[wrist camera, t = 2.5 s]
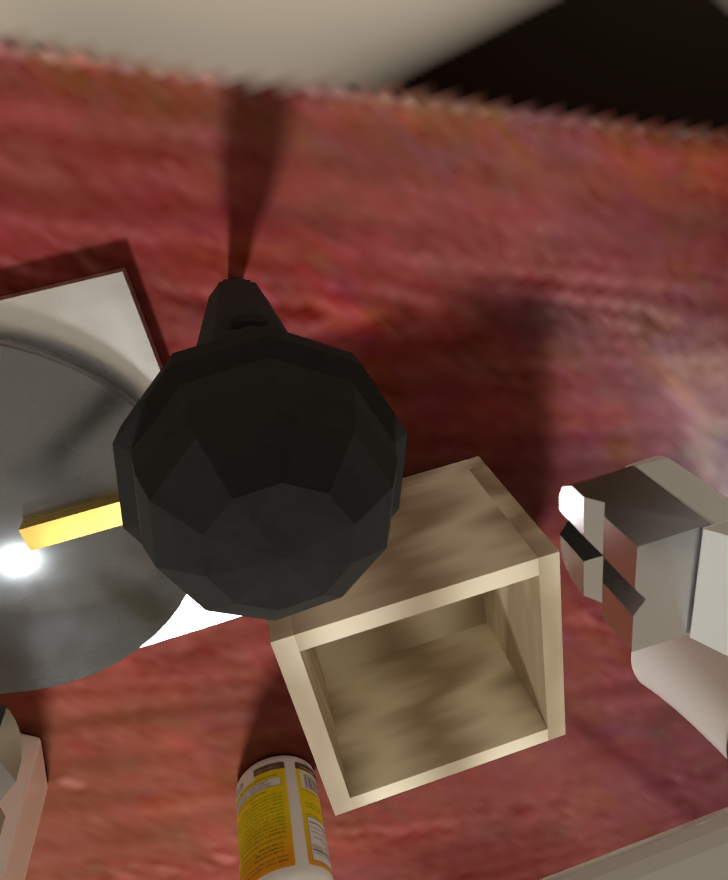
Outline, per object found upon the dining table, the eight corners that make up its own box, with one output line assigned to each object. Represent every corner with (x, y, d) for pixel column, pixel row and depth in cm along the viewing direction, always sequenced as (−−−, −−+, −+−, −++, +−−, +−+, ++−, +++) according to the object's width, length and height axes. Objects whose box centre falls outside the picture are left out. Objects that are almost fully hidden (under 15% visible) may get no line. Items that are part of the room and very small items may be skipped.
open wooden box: (478, 455, 34) (559, 551, 26) (496, 618, 40) (565, 734, 32) (255, 520, 33) (270, 642, 25) (309, 678, 39) (335, 815, 31)
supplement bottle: (223, 799, 42) (227, 976, 33) (254, 746, 40) (267, 917, 32) (295, 806, 44) (316, 973, 36) (327, 755, 43) (358, 918, 34)
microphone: (296, 219, 26) (471, 385, 9) (293, 346, 29) (425, 670, 11) (165, 213, 25) (67, 392, 8) (174, 346, 27) (116, 711, 10)
